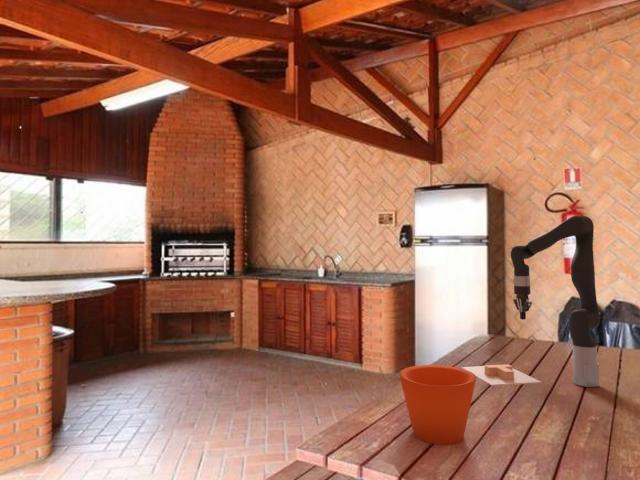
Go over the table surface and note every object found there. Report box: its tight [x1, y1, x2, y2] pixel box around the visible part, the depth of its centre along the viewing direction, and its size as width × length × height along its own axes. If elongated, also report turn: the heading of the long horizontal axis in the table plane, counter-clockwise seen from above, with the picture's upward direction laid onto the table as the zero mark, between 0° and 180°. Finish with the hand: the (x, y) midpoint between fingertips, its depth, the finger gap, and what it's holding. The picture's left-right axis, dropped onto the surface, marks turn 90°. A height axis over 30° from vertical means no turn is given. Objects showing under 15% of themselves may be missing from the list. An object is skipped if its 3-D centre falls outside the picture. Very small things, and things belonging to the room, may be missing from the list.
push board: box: [461, 365, 542, 387], centre depth 217 cm, size 30×24×1 cm
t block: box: [484, 363, 514, 381], centre depth 213 cm, size 12×12×4 cm
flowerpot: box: [398, 364, 477, 446], centre depth 151 cm, size 25×25×20 cm
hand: (522, 319), depth 228 cm, fingers closed
